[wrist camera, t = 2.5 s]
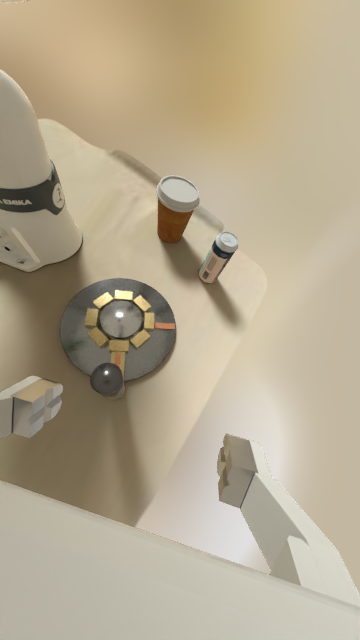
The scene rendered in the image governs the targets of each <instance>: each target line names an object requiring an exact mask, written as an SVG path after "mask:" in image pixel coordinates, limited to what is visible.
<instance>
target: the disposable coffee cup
mask: <svg viewBox="0 0 360 640" xmlns="http://www.w3.org/2000/svg"><path fill="white" fill-rule="evenodd" d="M156 191H157V196H158V235H159V237H160V238H161V239H162V240H164V241H165V242H169V243H175V242H178V241H179V240H180V238H181V236H182V234H183V232H184V230H185V228H186V226H187V224H188V221H189V219H190V217H191V215H192V213H193V211H194V209H195V208H196V207H197V206H198V204H199V190H198V188H197V187H196V185H194V183H192V182H191V181H190V180H188V179H186V178H184V177H180V176H176V175H169V176H165V177H163V178H162V179H161V180H160V183H159V184H158V186H157V189H156Z"/></svg>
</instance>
